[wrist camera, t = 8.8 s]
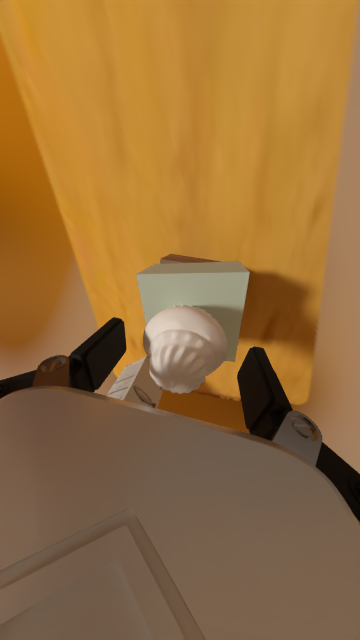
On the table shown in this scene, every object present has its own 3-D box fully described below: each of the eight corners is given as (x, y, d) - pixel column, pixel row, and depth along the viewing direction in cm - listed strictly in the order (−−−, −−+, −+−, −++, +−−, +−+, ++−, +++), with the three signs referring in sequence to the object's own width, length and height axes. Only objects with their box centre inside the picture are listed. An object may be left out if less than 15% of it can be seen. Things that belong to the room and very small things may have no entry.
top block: (155, 264, 17) (136, 274, 13) (239, 261, 15) (249, 272, 11) (163, 330, 21) (152, 354, 17) (229, 333, 20) (234, 361, 15)
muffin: (155, 287, 13) (105, 335, 7) (229, 291, 12) (245, 350, 6) (161, 343, 16) (130, 409, 10) (219, 350, 15) (223, 428, 9)
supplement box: (168, 376, 34) (148, 443, 23) (145, 384, 37) (117, 447, 26) (147, 354, 31) (114, 417, 21) (124, 365, 34) (85, 424, 24)
